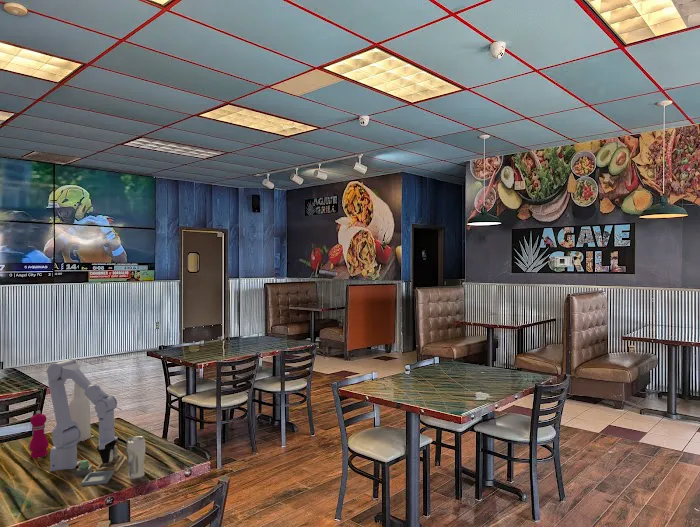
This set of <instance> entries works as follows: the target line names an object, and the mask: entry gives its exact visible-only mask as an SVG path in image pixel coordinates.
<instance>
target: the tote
mask: <svg viewBox="0 0 700 527" xmlns="http://www.w3.org/2000/svg"><path fill="white" fill-rule="evenodd" d="M114 473H115V472H114V470H112V471H101V472H94V471H92V472H89V473H88V475H87V476H84V478H83V480H82V481H81V482H80V483H81V486H84V487H85V486H93V485H103V484H104V485H105V484H108V483H109V481H110V480H111V478H112V477H113V475H115V474H114Z"/></svg>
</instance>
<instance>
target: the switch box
mask: <svg viewBox="0 0 700 527" xmlns="http://www.w3.org/2000/svg"><path fill="white" fill-rule="evenodd" d="M93 466H94V465H93V464H88V467H89V468H88V469H81V465H80V466H79V467H78V468H77V469H76V472H75V473H76V474H75V475H76V476H75V477H86V476H87V475H88V473H89V472H94V471H93V470H94V468H93Z"/></svg>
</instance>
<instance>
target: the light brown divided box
mask: <svg viewBox="0 0 700 527" xmlns="http://www.w3.org/2000/svg"><path fill="white" fill-rule="evenodd" d="M126 460H127V456H124V454H118V445H116V444H115V446H114V450H113V465H112V466H110V467H102V461H101V462H100V463H99V464H98V465H97V467H96V468H95V470H94V471H93V472H101V471H112V470H114V473H118V471H119V470H120V468H121V467H122V466H123V464H124V463H125V461H126Z"/></svg>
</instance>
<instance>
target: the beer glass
mask: <svg viewBox="0 0 700 527" xmlns="http://www.w3.org/2000/svg"><path fill="white" fill-rule="evenodd" d="M125 445H126V446H125V448H126V449H125V452H126V453H125V454H126V460H127V464H128V474H127V477H128V479H131V480H134V479H135V480H136V479H139V478H142V477H144V476H145V474H146V473H145V470H144V467H145V466H144V463H145V457H146V440H145V437H144V436H141V435H138V436H137V435H135V436H132V437H128V438H127V439H126V444H125Z"/></svg>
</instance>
